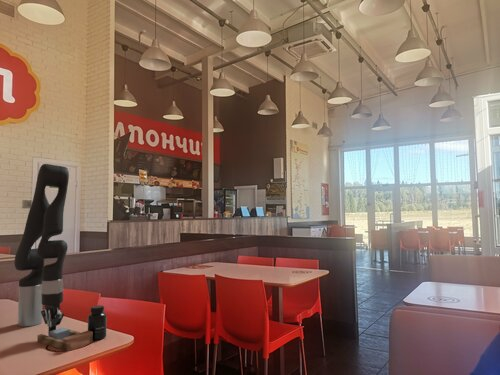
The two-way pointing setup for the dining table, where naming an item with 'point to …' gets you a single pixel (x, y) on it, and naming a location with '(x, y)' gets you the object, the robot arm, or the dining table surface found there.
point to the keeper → (59, 333)
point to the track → (68, 340)
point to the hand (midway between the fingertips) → (52, 335)
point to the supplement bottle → (97, 322)
